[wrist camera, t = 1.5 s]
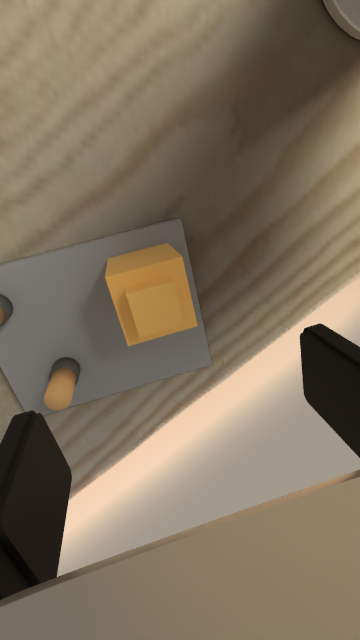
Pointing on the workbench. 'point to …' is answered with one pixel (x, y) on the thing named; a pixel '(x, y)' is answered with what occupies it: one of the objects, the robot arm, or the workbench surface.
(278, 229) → the workbench surface
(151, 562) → the robot arm
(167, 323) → the stepped orange block
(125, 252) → the board
